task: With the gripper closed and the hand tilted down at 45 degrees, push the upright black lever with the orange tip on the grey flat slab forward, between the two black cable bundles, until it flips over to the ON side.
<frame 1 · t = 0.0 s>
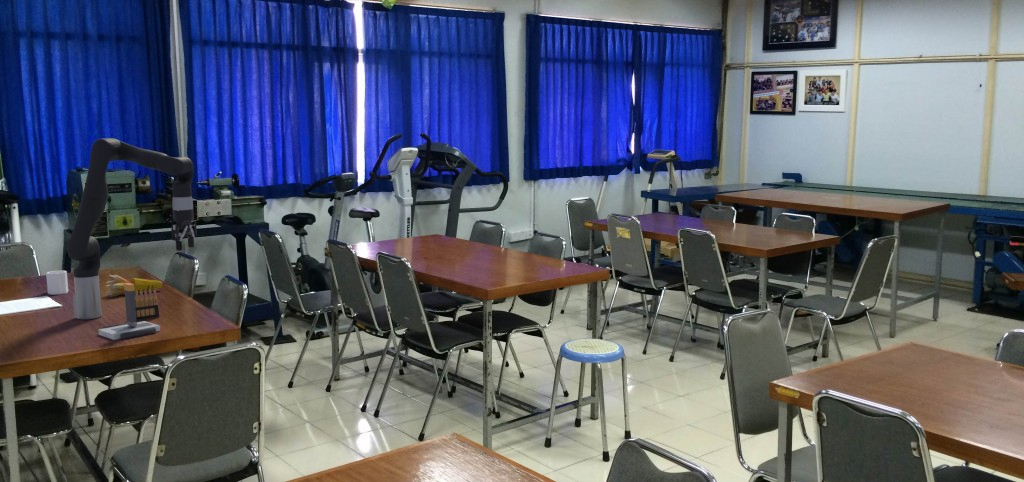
hand: (185, 249, 352), 29 cm above the table, tool pointing down, fingers open, 8 cm apart
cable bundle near: (139, 335, 334), on the table
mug: (57, 292, 417), on the table
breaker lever: (130, 305, 338), point 10 cm above the table, hinge at 0.0°
cable bundle far: (120, 329, 343), on the table
ammunition clip: (145, 318, 362), on the table
grey flat slab: (129, 332, 339), on the table
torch: (134, 294, 412), on the table
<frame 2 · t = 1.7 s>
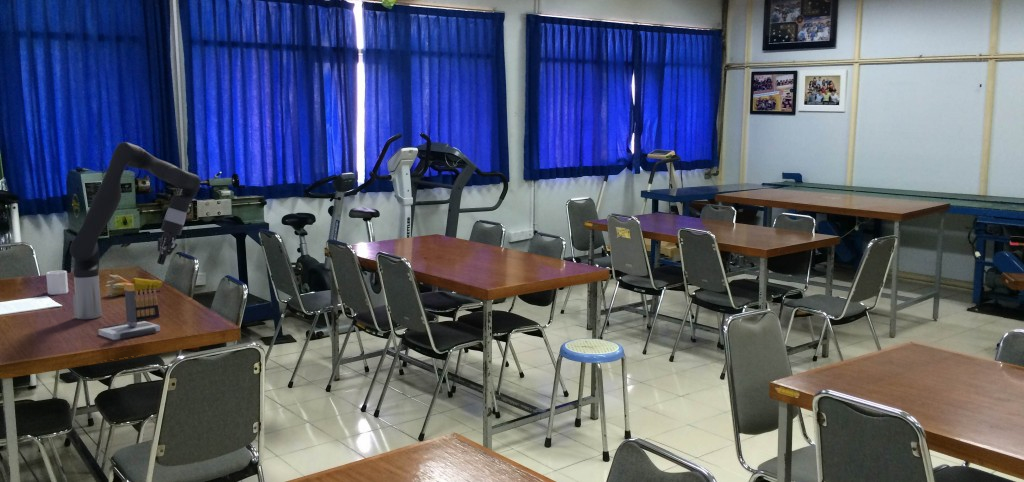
hand: (160, 264, 345), 25 cm above the table, tool tilted 20°, fingers closed
nothing on the table moved.
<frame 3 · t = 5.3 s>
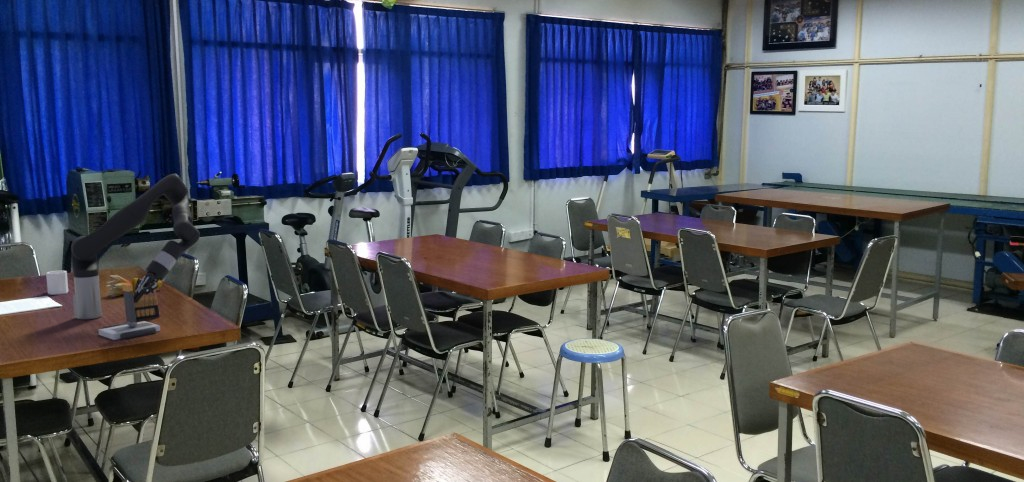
hand: (133, 301, 338), 12 cm above the table, tool tilted 45°, fingers closed
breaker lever: (129, 305, 337), point 10 cm above the table, hinge at 2.9°, touching gripper
everything else where it was.
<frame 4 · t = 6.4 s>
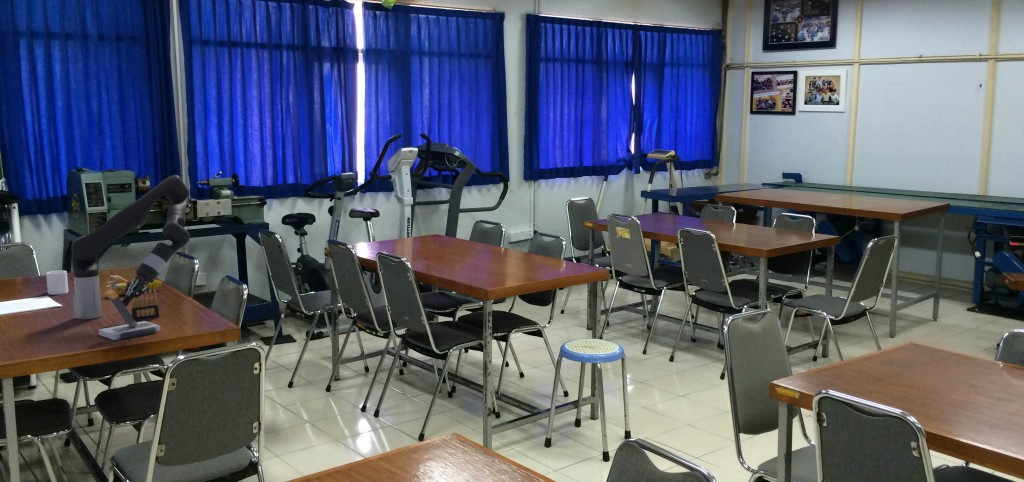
hand: (123, 305, 335), 11 cm above the table, tool tilted 45°, fingers closed
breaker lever: (121, 308, 335), point 10 cm above the table, hinge at 28.6°, touching gripper
everything else where it was.
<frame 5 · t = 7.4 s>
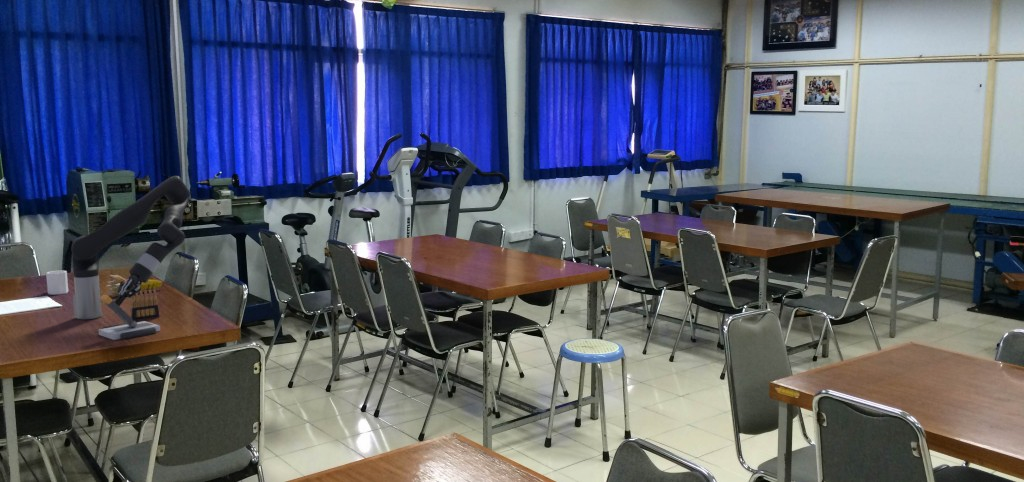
hand: (115, 304, 333), 12 cm above the table, tool tilted 45°, fingers closed
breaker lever: (119, 311, 335), point 9 cm above the table, hinge at 39.4°, touching gripper
everything else where it was.
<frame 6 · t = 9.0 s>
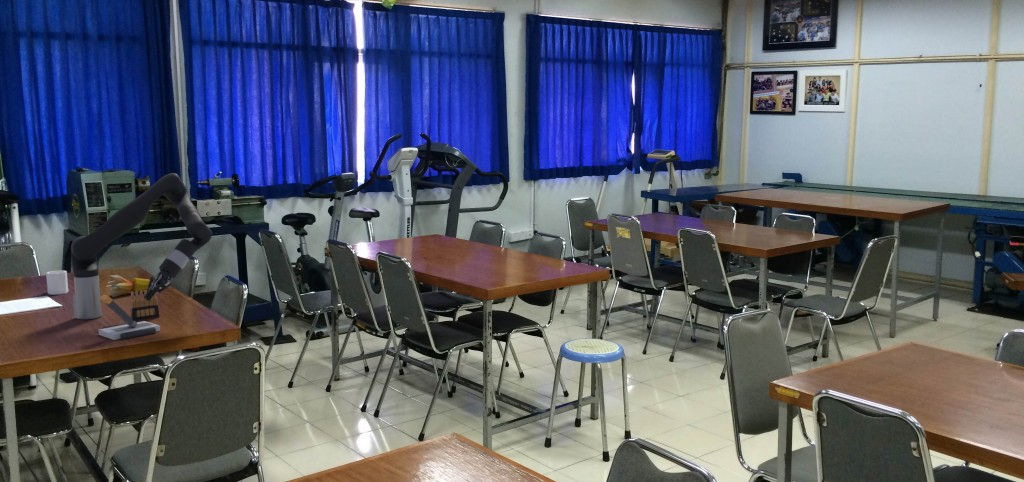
hand: (146, 299, 342), 12 cm above the table, tool tilted 45°, fingers closed
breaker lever: (119, 311, 335), point 9 cm above the table, hinge at 39.6°
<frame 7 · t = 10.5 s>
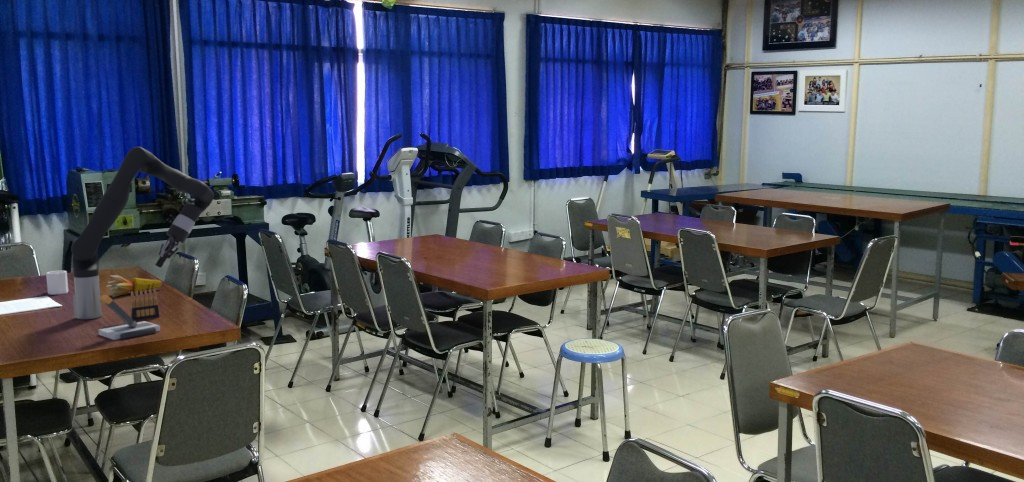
hand: (157, 266, 348), 23 cm above the table, tool tilted 35°, fingers closed
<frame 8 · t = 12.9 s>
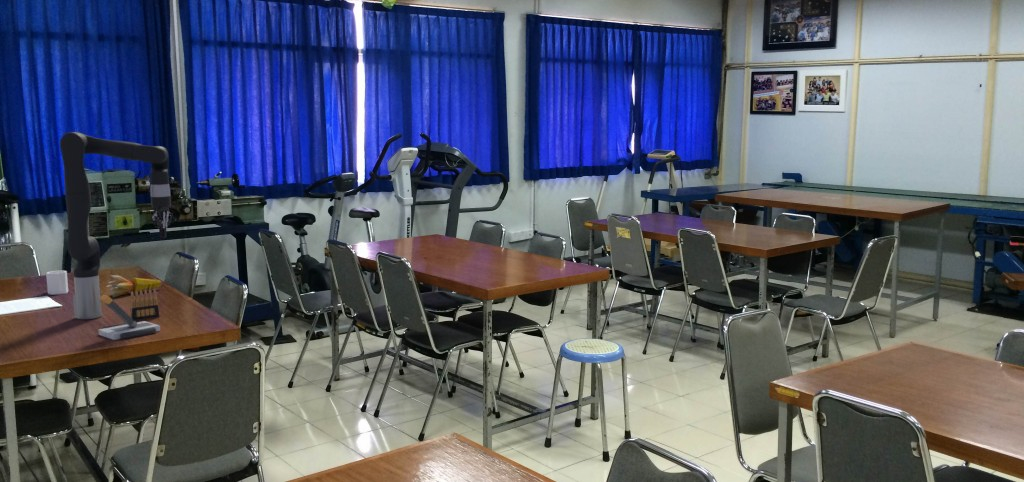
hand: (163, 237, 367), 32 cm above the table, tool pointing down, fingers closed
at the end: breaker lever at +40° (first picture: +0°); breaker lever touching nothing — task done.
